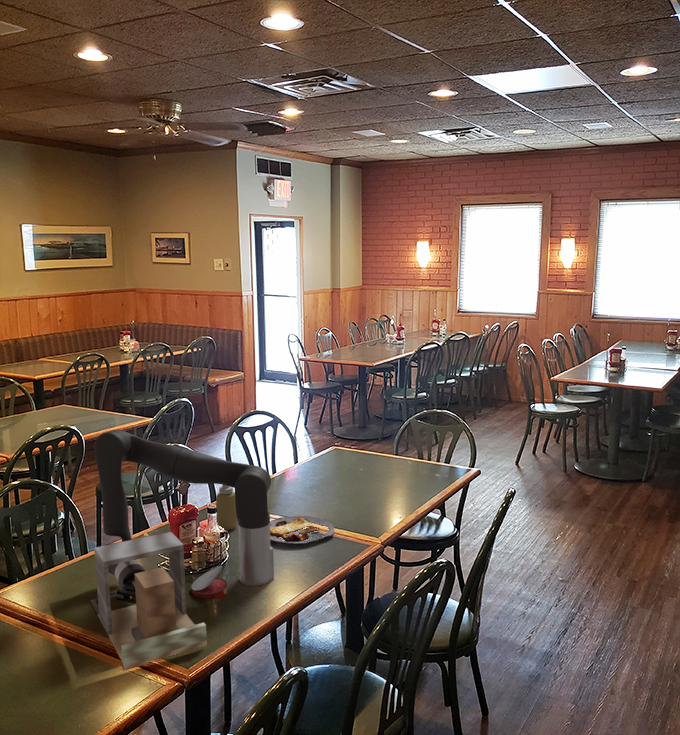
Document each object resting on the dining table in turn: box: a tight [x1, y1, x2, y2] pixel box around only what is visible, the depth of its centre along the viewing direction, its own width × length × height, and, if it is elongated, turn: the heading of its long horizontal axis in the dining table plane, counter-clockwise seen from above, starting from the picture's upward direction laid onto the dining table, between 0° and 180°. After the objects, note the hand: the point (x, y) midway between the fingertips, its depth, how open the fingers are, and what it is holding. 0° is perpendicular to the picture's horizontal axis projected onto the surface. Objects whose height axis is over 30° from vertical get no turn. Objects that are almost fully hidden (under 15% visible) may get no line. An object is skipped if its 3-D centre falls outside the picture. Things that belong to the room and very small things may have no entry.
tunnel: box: [90, 531, 208, 672], centre depth 183 cm, size 20×35×21 cm, turn 31°
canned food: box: [190, 565, 228, 602], centre depth 201 cm, size 11×10×10 cm
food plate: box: [270, 514, 335, 545], centre depth 244 cm, size 25×23×4 cm
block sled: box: [131, 566, 179, 641], centre depth 175 cm, size 10×9×16 cm
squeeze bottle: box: [215, 484, 238, 531], centre depth 249 cm, size 8×8×18 cm
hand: (150, 603), depth 179 cm, fingers closed
